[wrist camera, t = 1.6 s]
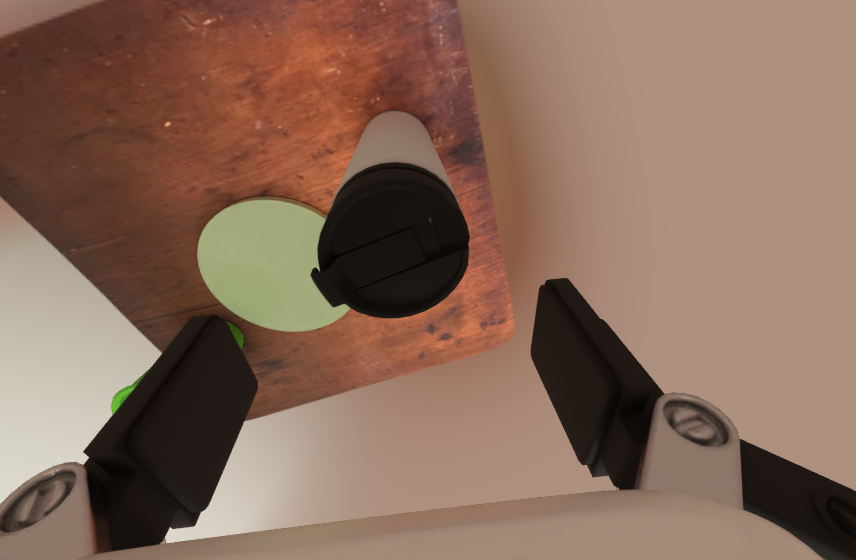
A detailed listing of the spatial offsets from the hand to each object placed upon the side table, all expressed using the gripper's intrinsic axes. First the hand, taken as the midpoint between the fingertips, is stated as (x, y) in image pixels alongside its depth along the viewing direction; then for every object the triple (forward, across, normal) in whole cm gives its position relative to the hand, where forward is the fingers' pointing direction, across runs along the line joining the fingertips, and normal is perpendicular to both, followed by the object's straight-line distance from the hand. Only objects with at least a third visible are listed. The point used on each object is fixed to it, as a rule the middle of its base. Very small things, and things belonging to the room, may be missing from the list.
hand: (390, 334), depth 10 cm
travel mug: (+24, 0, -1) cm, 24 cm away
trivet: (+24, +13, +10) cm, 29 cm away
